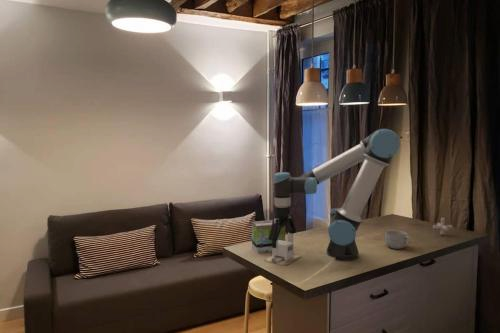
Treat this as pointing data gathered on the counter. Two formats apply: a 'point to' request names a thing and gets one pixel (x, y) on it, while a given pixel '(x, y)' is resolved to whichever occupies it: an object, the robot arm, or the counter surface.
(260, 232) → the tea box
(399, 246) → the teacup
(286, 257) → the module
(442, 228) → the pipe connector
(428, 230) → the counter surface
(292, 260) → the rail board
